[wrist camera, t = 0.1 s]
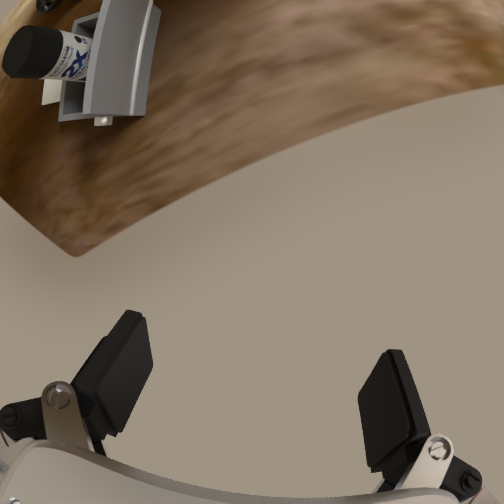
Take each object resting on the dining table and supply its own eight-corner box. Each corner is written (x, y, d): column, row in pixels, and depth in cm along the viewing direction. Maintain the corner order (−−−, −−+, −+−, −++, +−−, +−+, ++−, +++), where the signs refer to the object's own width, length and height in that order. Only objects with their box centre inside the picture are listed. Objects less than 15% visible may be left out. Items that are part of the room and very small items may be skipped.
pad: (50, 57, 30) (48, 56, 30) (78, 47, 30) (76, 47, 29) (43, 105, 35) (41, 105, 34) (71, 99, 34) (69, 99, 34)
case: (91, 26, 28) (15, 5, 11) (186, 8, 27) (126, -48, 10) (76, 127, 36) (-8, 142, 20) (168, 124, 36) (87, 128, 19)
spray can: (109, 91, 34) (13, 88, 16) (87, 73, 32) (-5, 67, 14) (134, 58, 31) (42, 32, 13) (110, 41, 30) (21, 17, 12)
